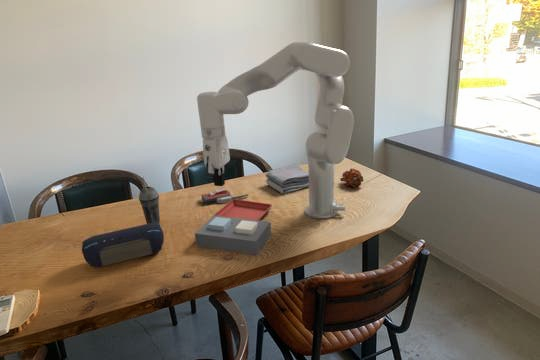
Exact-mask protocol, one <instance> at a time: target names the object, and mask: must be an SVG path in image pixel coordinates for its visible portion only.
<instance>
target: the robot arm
mask: <svg viewBox="0 0 540 360" xmlns="http://www.w3.org/2000/svg"><path fill="white" fill-rule="evenodd" d="M350 61H351V60H350V57H349V54H347V53H346V52H345V51H344V50H341V49H338V48H333V47H329V46H325V45H321V44H317V43H314V42H310V41H309V42H307V41H295V42H291V43H289V44H287V45H286V46H285V47H282V49H280V50H279V51H278V52H276V53H275V54H273V55H272V56H271V57H269V58H268V59H266V60H264V61H263V62H262V63H260V64H259V65H256V66H254V67H253V68H251V69H248V70H247V71H245V72H243V73H241V74H239V75H238V76H236V77H235V78H233V79H232V80H229V82H228V83H226V84H224V85H223V86H222V87H221V88H219V90H218V91H205V92H200V93H199V94H198V95H197V97H196V100H197V101H196V103H197V109H198V117H199V126H200V132H201V138H202V154H203V163H204V166H205V169H208V170H207V171H208V174H211V175H212V177H213V186H215V187H224V185H225V184H226V181H225V175H224V174H225V165H226V164H228V163H229V162H230V161H231V156H230V149H229V143H228V138H227V134H226V128H225V118H224V115H239V114H242V113H245V111H246V110H247V109H248V107H249V103H250V101H249V98H248V97H249V96H250V95H252V94H254V93H257V92H261V91H266V90H271V89H273V88H276V87H277V86H279V85H280V84H281V83H283V82H284V81H285V80H287V79H288V78H290V77H291V76H292V75H294V74H295V73H296V72H298V71H301V70H302V71H306V72H311V73H314V74H315V75H316V77H317V79H318V81H319V82H318V83H319V93H318V94H319V95H318V99H317V104H316V109H315V113H314V121H315V124H316V125H317V126H318V127H320V128H322V129H323V130H327V132H325V131H313V132H312V133H311V134H310V135H308V136H307V139H306V142H305V152H306V158H307V164H308V166H307V167H308V172H309V186H308V205H306V207H304V208H305V209H304V210H305V214H306V215H307V216H309V217H311V218H314V219H324V220H325V219H329V218H332V217H335V216H337V215H338V212H339V211H340V212H345V211H346V205H344V203H337V199H335V165H338V164H340V163H342V162H343V161H344V160H345V159H346V157H347V156H348V155H347V154H348V152H349V148H350V144H351V139H352V136H353V131H354V126H355V116H354V114H353V111H352V109H350V107H348V106H346V105H343V99H344V96H345V81H344V77H343V76H344V75H345V74H346V73H347V72H348V71H349V69H350V65H351V62H350Z"/></svg>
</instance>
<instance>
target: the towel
mask: <svg viewBox="0 0 540 360" xmlns="http://www.w3.org/2000/svg"><path fill="white" fill-rule="evenodd" d="M265 177H266V178H267V179H266V181H265V183H266V184H267V185H268V186H269V187H271V188H272V189H275V191H278V192H279V193H281V194H285V195H286V194H289V192H290V193H293V192H296V191H299V190H302V189H304V188H309V171H307V170H304V169H303V168H302V167H301V166H300V165H299V164H298V163H296V162H295V163H292V164H290V165H286V166H281V167H277V168H274V169H271V170H269V171H267V173H266V174H265Z"/></svg>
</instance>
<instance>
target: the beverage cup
mask: <svg viewBox="0 0 540 360" xmlns="http://www.w3.org/2000/svg"><path fill="white" fill-rule="evenodd" d="M142 181H143V185H144V187H143V188H142V189H141V190H140V191H139V194H138V201H139V204H140V205H141V208H142V213H143V215H144V219H145V221H146V223H145V224H159V225H160V226H161V221H160V218H161V217H160V205H159V203H160V202H159V201H160V196H159V193H158V191H157V190H156V188H154V187H152V186H147V183H146V180H145V177H144V176H142Z"/></svg>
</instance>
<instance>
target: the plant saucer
mask: <svg viewBox="0 0 540 360" xmlns="http://www.w3.org/2000/svg"><path fill="white" fill-rule="evenodd" d="M272 207H273V204H272V203H264V202H258V201H251V200H250V201H249V200H243V199H233V200H231V201H230V202H227V203H225V205H224V206H222V208H220V209H219V210H218V211H217V212H215V213H214V214H213V215H212V216H211V217H210V219H211V218H212V217H213V216H214V215H215V216H223V217H232V218H241V219H250V220H259V221H261V219H262V218H264V217H265V215H267V214H268V213H269V211H270V210H271V209H272Z"/></svg>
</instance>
